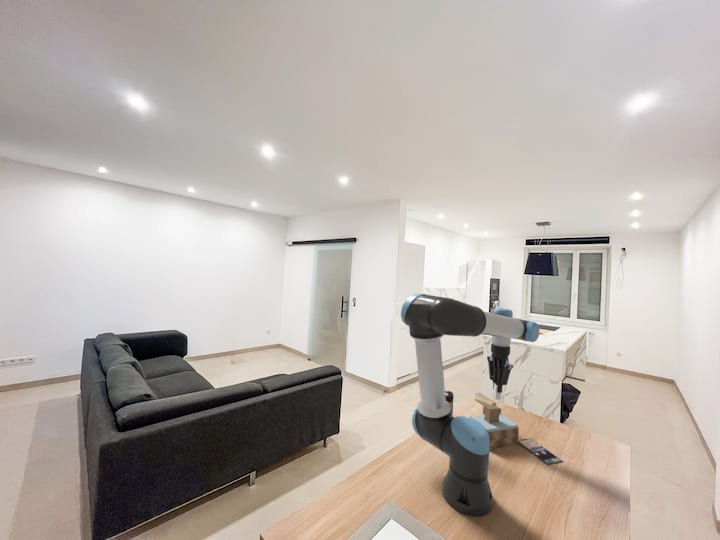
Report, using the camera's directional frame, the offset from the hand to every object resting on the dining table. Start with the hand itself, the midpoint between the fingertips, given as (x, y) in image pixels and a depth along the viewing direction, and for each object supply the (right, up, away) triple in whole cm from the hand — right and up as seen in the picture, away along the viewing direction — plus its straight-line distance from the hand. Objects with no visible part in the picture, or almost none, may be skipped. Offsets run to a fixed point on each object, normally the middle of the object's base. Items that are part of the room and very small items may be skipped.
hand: (496, 398), depth 130 cm
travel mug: (-24, -17, -1) cm, 29 cm away
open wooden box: (-2, -17, +2) cm, 18 cm away
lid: (-2, -11, 0) cm, 11 cm away
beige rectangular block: (+1, -9, +13) cm, 16 cm away
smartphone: (+14, -19, -7) cm, 25 cm away
